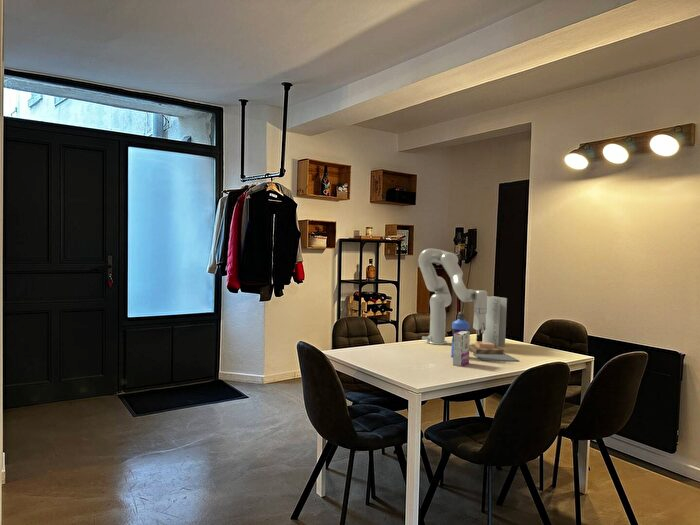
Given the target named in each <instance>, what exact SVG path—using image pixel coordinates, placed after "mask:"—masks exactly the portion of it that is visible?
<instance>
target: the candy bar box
mask: <svg viewBox="0 0 700 525" xmlns="http://www.w3.org/2000/svg"><path fill="white" fill-rule="evenodd" d="M470 334H471V333H470V331H469V332H466V331H460V332H458V333H455V334H454V352H453V358H452V360H453V361H452V365H453V366H456V367H461V368H462V367H463V366H466V365H467V364H469V363H470V351H469V345H471V344H470V341H471V340H470V339H471V336H470Z"/></svg>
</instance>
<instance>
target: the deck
mask: <svg viewBox="0 0 700 525" xmlns="http://www.w3.org/2000/svg"><path fill="white" fill-rule="evenodd" d="M504 351H505V350H504V349H503V348H501V347H499V346H495V347H494V348H478V347H477V346H475V344H474V345H473V344H470V345H469V352H471V353H472V352H473V353H472V354H505V353H504Z"/></svg>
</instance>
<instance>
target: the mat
mask: <svg viewBox="0 0 700 525" xmlns="http://www.w3.org/2000/svg"><path fill="white" fill-rule="evenodd" d="M472 355H473V356H474V357H476V358H477V359H479V360H480V361H482V362H518V361H519V362H520V360H519V359H517V358H515V357H513V356H511V355H510V354H505V353H504V354H474V353H472Z"/></svg>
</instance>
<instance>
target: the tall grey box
mask: <svg viewBox="0 0 700 525" xmlns="http://www.w3.org/2000/svg"><path fill="white" fill-rule="evenodd" d="M507 304H508V298H507V297H500V296H493V295H491V296H488V295H487V314H486V330H484V333H483V341H482V342H491V343H493V344H495V345H496V346H497V347H499V346H501V345H504V346H503V347H506V331H507V330H506V328H507V309H508V308H507V307H508V305H507Z"/></svg>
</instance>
